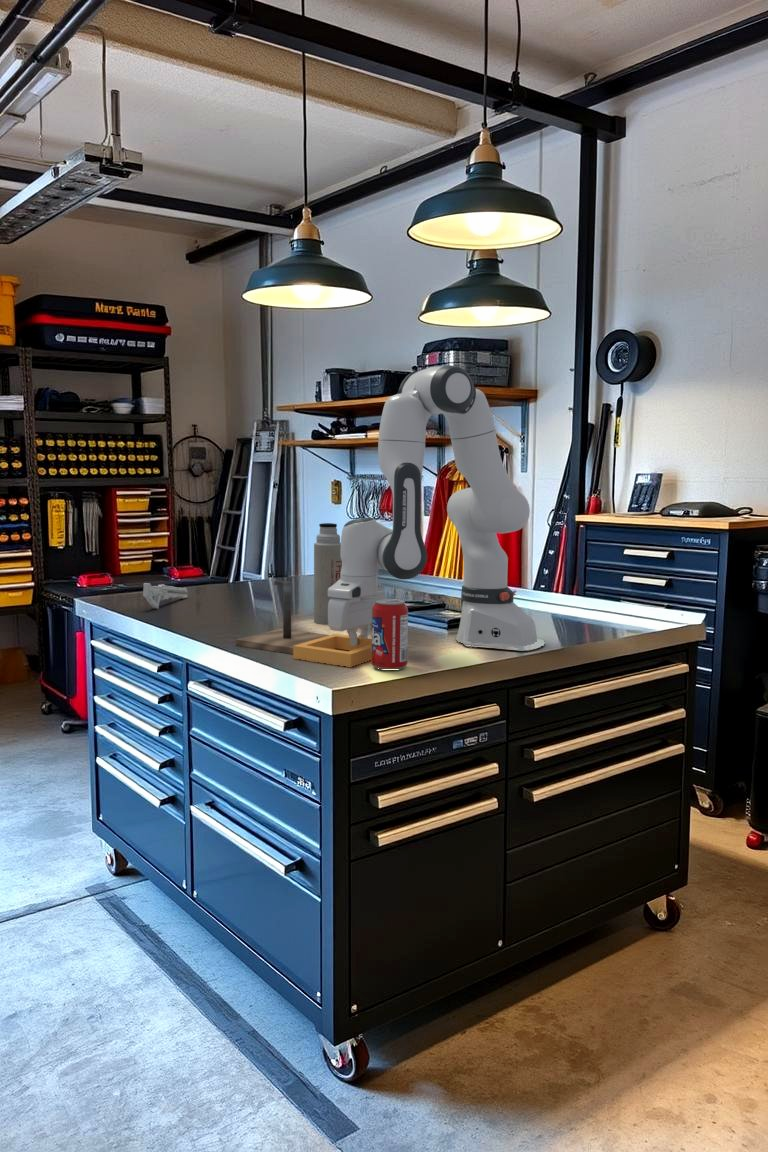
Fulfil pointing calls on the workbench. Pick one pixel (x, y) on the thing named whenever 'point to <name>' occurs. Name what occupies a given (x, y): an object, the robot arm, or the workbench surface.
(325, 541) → the thermos bottle
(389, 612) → the soda can
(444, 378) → the robot arm
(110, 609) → the workbench surface
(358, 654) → the loop
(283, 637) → the wooden peg stand
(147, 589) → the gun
